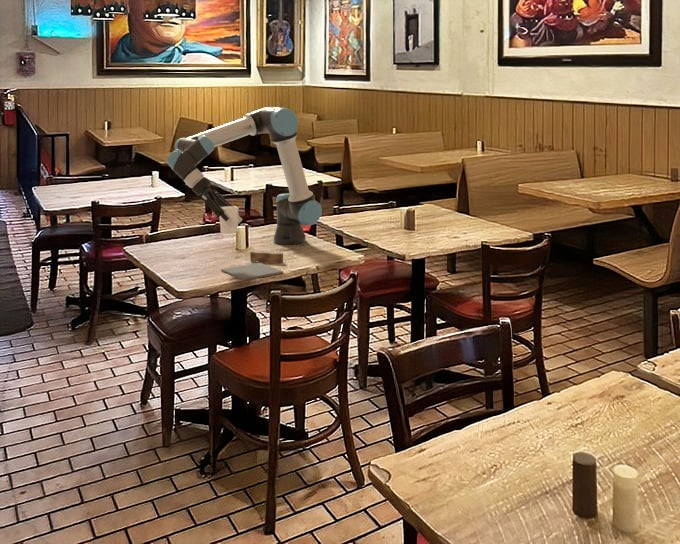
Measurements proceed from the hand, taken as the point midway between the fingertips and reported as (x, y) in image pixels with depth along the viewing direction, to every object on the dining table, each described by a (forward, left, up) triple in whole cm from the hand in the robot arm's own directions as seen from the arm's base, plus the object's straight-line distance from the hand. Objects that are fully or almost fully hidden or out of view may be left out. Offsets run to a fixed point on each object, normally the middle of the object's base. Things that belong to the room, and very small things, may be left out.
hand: (237, 223), depth 306 cm
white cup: (+3, -3, -4) cm, 5 cm away
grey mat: (0, +11, -18) cm, 21 cm away
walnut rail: (-13, 0, -18) cm, 22 cm away
